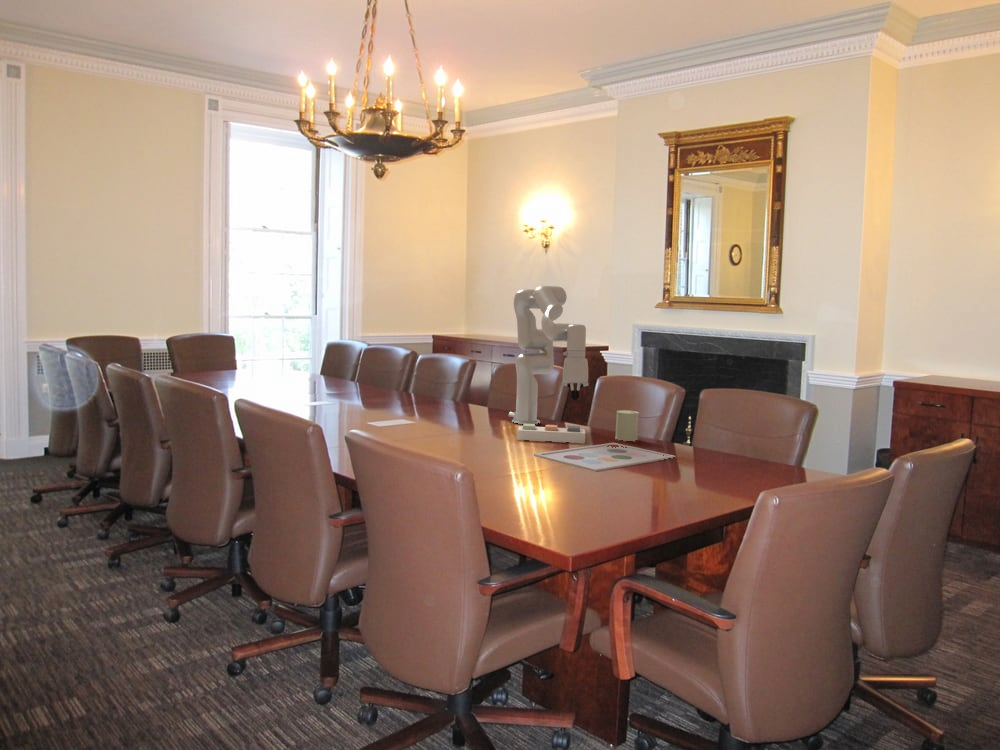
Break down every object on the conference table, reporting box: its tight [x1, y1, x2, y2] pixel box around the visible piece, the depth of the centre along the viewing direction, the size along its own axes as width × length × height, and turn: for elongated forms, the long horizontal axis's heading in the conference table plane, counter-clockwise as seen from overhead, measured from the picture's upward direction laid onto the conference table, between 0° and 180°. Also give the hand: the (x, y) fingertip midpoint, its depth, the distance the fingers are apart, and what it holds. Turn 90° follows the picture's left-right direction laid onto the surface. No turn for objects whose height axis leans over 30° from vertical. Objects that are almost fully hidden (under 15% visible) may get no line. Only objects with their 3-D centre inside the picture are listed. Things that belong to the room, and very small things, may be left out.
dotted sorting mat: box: [533, 442, 676, 472], centre depth 307 cm, size 30×1×43 cm
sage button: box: [522, 424, 536, 430], centre depth 339 cm, size 5×5×4 cm
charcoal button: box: [567, 425, 581, 432], centre depth 338 cm, size 5×5×4 cm
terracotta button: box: [544, 424, 558, 431], centre depth 339 cm, size 5×5×4 cm
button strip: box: [516, 425, 586, 444], centre depth 339 cm, size 27×11×4 cm, turn 86°
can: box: [614, 409, 640, 442], centre depth 344 cm, size 9×9×12 cm
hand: (574, 400), depth 339 cm, fingers closed
